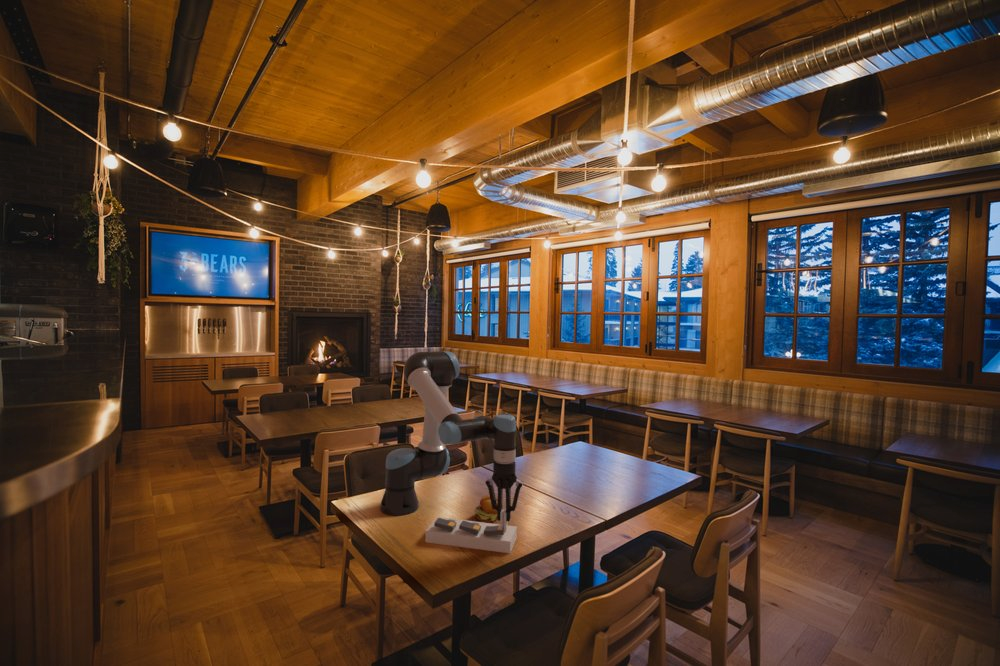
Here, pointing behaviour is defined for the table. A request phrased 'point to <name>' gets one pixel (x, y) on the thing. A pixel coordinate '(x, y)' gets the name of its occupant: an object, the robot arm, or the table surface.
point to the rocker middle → (470, 527)
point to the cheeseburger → (486, 510)
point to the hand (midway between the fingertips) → (503, 529)
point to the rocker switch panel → (472, 537)
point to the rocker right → (493, 530)
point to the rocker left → (445, 524)
